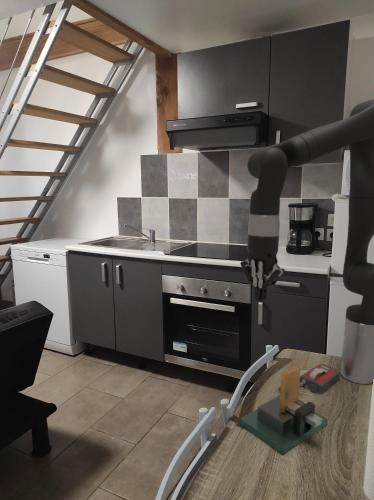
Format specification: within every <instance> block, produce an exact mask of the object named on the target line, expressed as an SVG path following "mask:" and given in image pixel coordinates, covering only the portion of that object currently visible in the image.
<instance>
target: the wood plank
mask: <svg viewBox="0 0 374 500" xmlns="http://www.w3.org/2000/svg"><path fill="white" fill-rule="evenodd" d="M300 371H301V368H300V367H298V366H293V367H291V368H289V369H287V370H284V371H282V372H281V378H280V379H281V380H280V387H281V391H280V395H279V396H280V407H279V410H280V411H281V412H283V413H285V412H286V411H288V412H290V413H292V414H294V415H295V410H296V409H298V408H299V407H301V406H299V405H298V399H299V390H300V386H299V381H300ZM304 421H305V422H307V423H309V424H310V425H312V426H314V427H315V428H316V427H317V426H319V425H320V424H322V418H320V417H318V416H317V415H315V414H313V413H311V412H309V413H308V414H306V415H305V416H304Z"/></svg>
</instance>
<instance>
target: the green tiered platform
mask: <svg viewBox="0 0 374 500" xmlns="http://www.w3.org/2000/svg"><path fill="white" fill-rule="evenodd" d="M298 405H299V406H301V407H299V408H298V409H296V410H295V415H294V414H292V413H290V412H288V411H286V412H285V413H283V412H281V411H280V410H279V407H280V395H277V396H276V397H274V398H272V399H270V400H269V401H266V402H265V403H263V404H261V405H259V406H257V409H254V410H253V411H251V412H249V413H247V414H245V415H243V416H241V417H240V419H239V425H241V426H242V427H243V428H245V429H246V430H247V431H249V432H250V433H251V434H253V435H254V436H256V437H257V438H258V439H260V440H261V441H262V442H264V443H265V444H266V445H268V446H269V447H270V448H272V449H274V450H275V451H276V452H277V453H279V454H281V455H284V454H286V453H288V452H289V451H290V450H292V449H293V448H295V447H297V446H299V444H301V443H302V442H304V441H305V440H306V439H308V438H310V437H311V436H312V435H314V434H315V433H317V432H318V431H320V430H321V429H323V428H324V427H325V426H327V425H328V418H327V417H325V416H324V415H322V414H321V413H319V412H316V404H315V403H313V402H311V401H308V402H305V401H303V400H301V399H299V398H298ZM309 412H311V413H313V414H315V415H317V416H318V417H320V418H322V424H320V425H319V426H317V427H316V428H315V427H314V426H312V425H310V424H309V423H307V422H305V421H304V416H305V415H306V414H308V413H309Z"/></svg>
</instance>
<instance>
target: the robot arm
mask: <svg viewBox="0 0 374 500" xmlns="http://www.w3.org/2000/svg"><path fill="white" fill-rule="evenodd" d="M347 146H349V163H350V164H349V167H350V168H349V193H348V194H349V195H348V224H347V238H346V239H347V240H346V248H345V255H344V256H345V257H344V262H343V270H342V283H343V286H344V288H345V289H346V290H347V291H349V292H351V293H353V294H357V295H359V296H362V299H361V302H360V304H351V305H349V306H347V308H346V310H345V319H344V320H345V321H344V329H343V330H344V332H343V343H342V352H341V362H340V370H339V372H340V375H341V376H342V378H344V379H346V380H348V381H349V382H353V383H355V384H361V385H369V384H373V383H374V382H373V379H374V263H371V262H368V252H369V245H370V242H371V240H372V239H373V237H374V99H370V100H366V101H362V102H359V103H358V104H357V105H355V106H354V107H353V108H352V110H351V111H350V113H349V116H348V117H346V118H344V119H341V120H337V121H335V122H331V123H328V124H324V125H321V126H317V127H315V128H312V129H309V130H307V131H304V132H301V133H300V134H297V135H294V136H292V137H291V138H289V139H286V140H284V141H283V142H278V143H276V144H275V143H274V144H272V145H269V146H266V147H263V148H260V149H258V150H255V152H253V153H252V154H250V156H249V158H248V161H247V171H248V172H249V174H250V175H251V176H252V177H253V178H255V179H257V185H256V189H255V190H253V192H251V195H250V200H249V201H250V204H249V219H248V225H247V226H248V227H247V242H246V243H247V244H246V245H247V246H246V247H247V249H246V250H247V252H248V253H247V254H248V255H247V257H246V258H247V259H245V260H243V261H240V263H239V264H240V266H241V269H242V271H243V274H244V275H245V277H246V280H247V281H248V283H250V284H251V283H252V285H253V287H254V290H253V291H254V301H256V302H258V303H264V302H265V301H266V300H267V299H268V298H267V296H268V295H267V294H268V288H269V287H274V286H275V285H276V283H277V282H278V281H279V280H280V278H282V276H284V274H285V273H286V269H285V268H281V266H280V265H279V263H278V262H279V261H278V258H277V254H278V252H279V247H280V244H279V242H280V231H281V230H280V229H281V222H280V208H281V197H282V193H283V191H284V187H285V182H286V179H287V175H288V169H290V168H294V167H295V168H296V167H300V166H303V165H306V164H308V163H310V162H313V161H315V160H317V159H320V158H321V157H324V156H326V155H328V154H331V153H333V152H335V151H338V150H340V149H342V148H345V147H347ZM372 382H373V383H372Z"/></svg>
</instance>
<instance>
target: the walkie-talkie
mask: <svg viewBox="0 0 374 500" xmlns="http://www.w3.org/2000/svg"><path fill="white" fill-rule="evenodd" d="M340 375H341V373H340V370H338V369H337V368H334V367H332V366H329V365H327V364H324V363H321V364H317V365H316V366H314V367H312V368H311V369H303V370H302V369H300V381H299V387H303V388H305V389H307V390H309V391H311V393H315V394H316V393H317V394H318V395H321V394H324V393H325V392H326V391H328V390H329V389H330V388H331V387H332V386H334V385H335V384H336V383H338V382H339V381H340ZM278 390H279V391H280V392H281V386H279V387H278Z"/></svg>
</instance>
